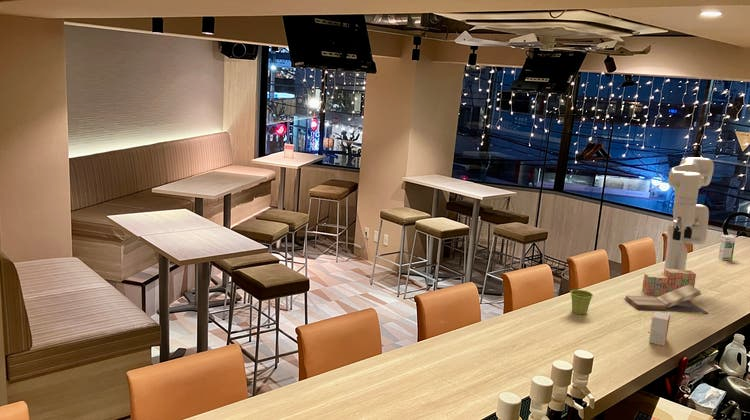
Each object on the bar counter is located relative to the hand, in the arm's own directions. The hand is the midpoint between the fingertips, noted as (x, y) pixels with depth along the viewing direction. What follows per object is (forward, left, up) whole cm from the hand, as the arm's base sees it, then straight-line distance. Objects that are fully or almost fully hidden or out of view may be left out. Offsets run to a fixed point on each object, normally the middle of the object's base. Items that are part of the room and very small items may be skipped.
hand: (681, 239), depth 266 cm
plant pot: (+15, -49, -31) cm, 59 cm away
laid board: (+4, -14, -30) cm, 34 cm away
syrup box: (-84, +76, -31) cm, 118 cm away
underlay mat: (+4, -6, -31) cm, 31 cm away
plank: (+4, 0, -27) cm, 27 cm away
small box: (+44, -29, -31) cm, 61 cm away
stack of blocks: (-13, +4, -31) cm, 34 cm away
